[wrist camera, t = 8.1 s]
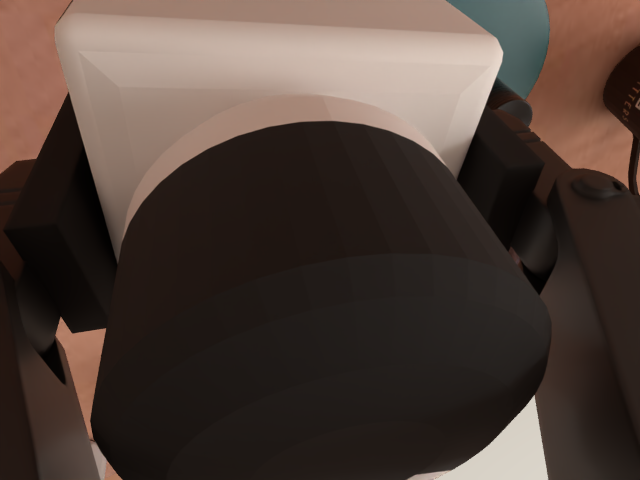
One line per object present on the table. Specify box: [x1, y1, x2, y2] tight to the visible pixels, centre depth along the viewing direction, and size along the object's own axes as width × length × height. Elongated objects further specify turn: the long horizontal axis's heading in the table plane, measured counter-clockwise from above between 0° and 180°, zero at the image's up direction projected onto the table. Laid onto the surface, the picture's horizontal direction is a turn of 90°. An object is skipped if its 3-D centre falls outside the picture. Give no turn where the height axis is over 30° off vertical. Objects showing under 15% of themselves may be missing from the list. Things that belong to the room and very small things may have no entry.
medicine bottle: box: [55, 0, 552, 480], centre depth 10 cm, size 7×7×12 cm
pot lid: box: [446, 0, 550, 127], centre depth 30 cm, size 14×14×9 cm
